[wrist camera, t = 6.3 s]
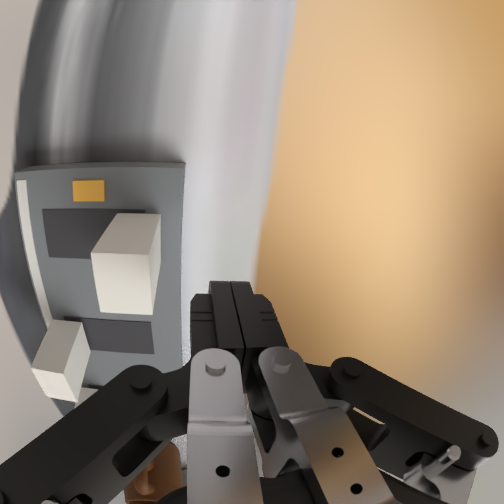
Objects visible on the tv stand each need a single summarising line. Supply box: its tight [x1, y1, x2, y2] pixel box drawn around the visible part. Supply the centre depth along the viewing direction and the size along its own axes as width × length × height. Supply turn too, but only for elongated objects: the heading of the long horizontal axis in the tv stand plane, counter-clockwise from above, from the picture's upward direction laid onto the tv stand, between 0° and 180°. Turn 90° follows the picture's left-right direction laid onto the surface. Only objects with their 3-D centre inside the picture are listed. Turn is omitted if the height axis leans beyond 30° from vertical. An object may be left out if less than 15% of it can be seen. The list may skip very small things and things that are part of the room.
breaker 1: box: [31, 319, 91, 402], centre depth 15 cm, size 3×2×5 cm
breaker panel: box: [14, 162, 186, 390], centre depth 19 cm, size 24×11×2 cm, turn 173°
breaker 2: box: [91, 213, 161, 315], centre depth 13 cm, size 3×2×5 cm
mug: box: [124, 442, 183, 504], centre depth 25 cm, size 12×8×9 cm, turn 175°
